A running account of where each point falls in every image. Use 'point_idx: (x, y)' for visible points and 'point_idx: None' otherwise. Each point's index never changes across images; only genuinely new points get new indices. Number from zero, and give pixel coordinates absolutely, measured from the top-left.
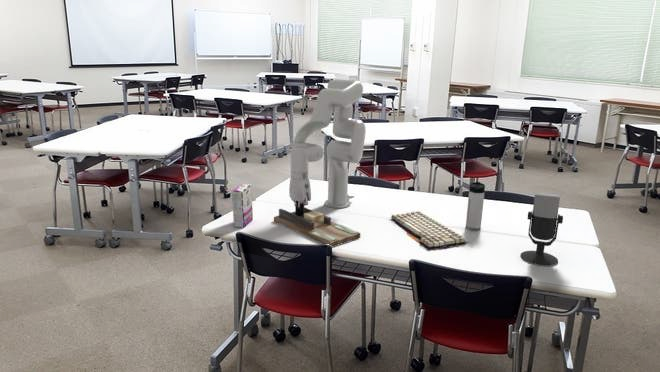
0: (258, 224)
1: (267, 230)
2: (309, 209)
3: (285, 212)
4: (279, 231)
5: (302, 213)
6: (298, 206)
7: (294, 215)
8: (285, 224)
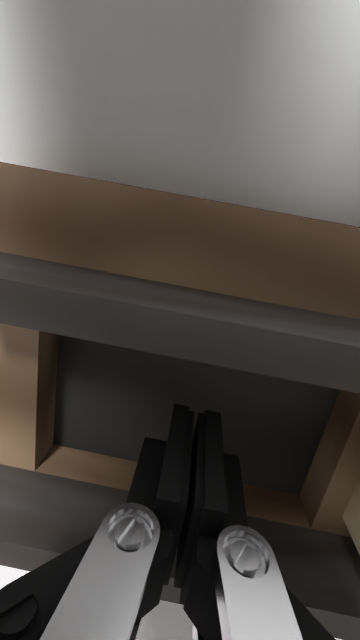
0: (3, 583)
1: None
2: (250, 332)
3: None
4: None
5: (236, 465)
6: (208, 638)
7: None
8: None
